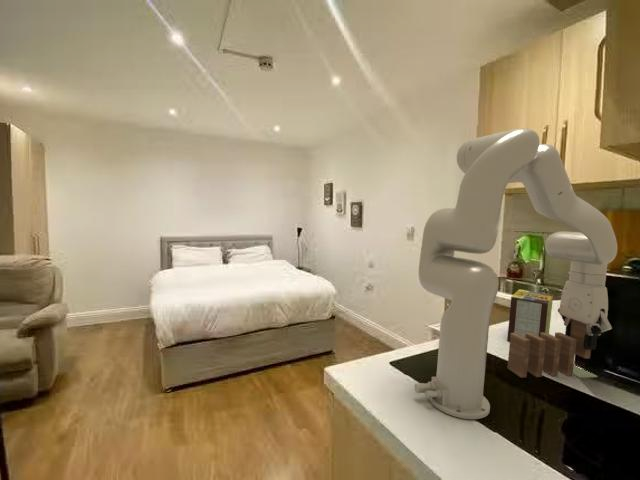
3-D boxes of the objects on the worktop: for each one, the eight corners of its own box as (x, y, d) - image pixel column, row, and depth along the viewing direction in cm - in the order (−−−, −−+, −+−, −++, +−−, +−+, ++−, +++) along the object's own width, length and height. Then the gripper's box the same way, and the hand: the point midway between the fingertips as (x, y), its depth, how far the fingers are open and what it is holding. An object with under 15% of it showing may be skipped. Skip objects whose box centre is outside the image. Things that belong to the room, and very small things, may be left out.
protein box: (548, 337, 115) (553, 294, 113) (543, 351, 103) (548, 302, 102) (514, 329, 121) (518, 288, 120) (506, 341, 110) (510, 296, 108)
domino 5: (584, 358, 87) (588, 321, 86) (568, 350, 92) (571, 315, 91) (590, 358, 87) (594, 321, 86) (573, 350, 92) (577, 315, 91)
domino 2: (536, 377, 85) (540, 340, 85) (522, 368, 90) (525, 332, 90) (541, 377, 86) (545, 339, 85) (527, 367, 91) (531, 332, 90)
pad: (578, 377, 86) (578, 376, 86) (556, 365, 93) (556, 364, 93) (597, 377, 87) (597, 376, 87) (573, 364, 94) (573, 363, 94)
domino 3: (551, 376, 86) (555, 339, 85) (536, 367, 91) (540, 332, 90) (557, 376, 86) (561, 339, 85) (541, 367, 91) (545, 332, 90)
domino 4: (567, 376, 87) (571, 339, 86) (551, 367, 92) (555, 332, 91) (572, 376, 87) (576, 339, 86) (556, 367, 92) (560, 332, 91)
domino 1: (520, 377, 85) (524, 340, 84) (507, 368, 90) (510, 332, 89) (526, 377, 85) (530, 340, 84) (512, 368, 90) (516, 332, 89)
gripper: (548, 272, 96) (542, 333, 97) (606, 286, 79) (598, 359, 80) (571, 272, 97) (564, 332, 98) (633, 286, 80) (624, 358, 82)
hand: (579, 344), depth 89 cm, fingers closed on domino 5, 4 cm apart
